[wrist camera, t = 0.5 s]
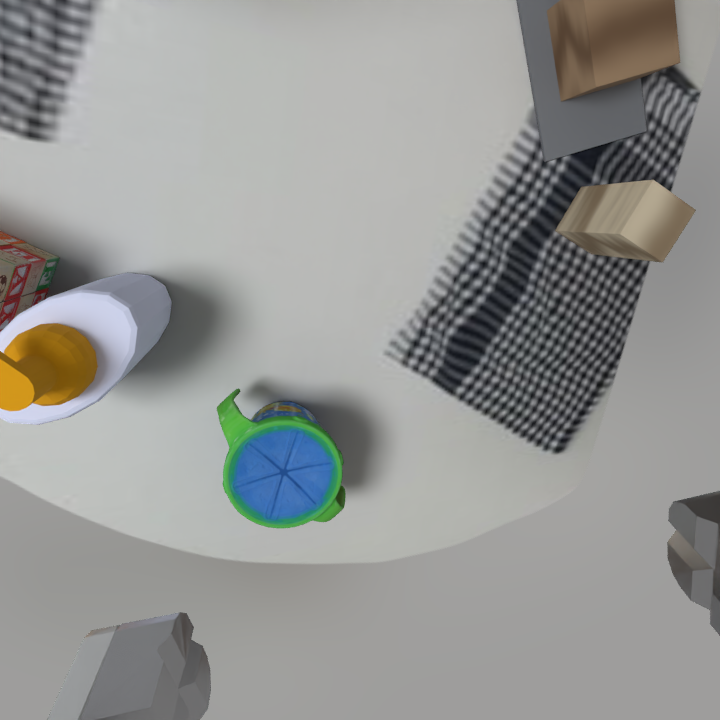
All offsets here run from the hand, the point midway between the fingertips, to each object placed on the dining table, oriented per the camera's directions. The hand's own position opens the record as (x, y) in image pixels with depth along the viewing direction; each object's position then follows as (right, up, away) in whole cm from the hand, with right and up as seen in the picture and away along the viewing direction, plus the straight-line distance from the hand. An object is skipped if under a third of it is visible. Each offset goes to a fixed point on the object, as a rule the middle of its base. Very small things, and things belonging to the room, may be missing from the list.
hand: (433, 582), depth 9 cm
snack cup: (-9, -4, +48) cm, 49 cm away
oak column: (+22, +18, +47) cm, 55 cm away
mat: (+20, +33, +43) cm, 57 cm away
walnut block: (+21, +34, +42) cm, 58 cm away
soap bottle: (-25, +7, +43) cm, 50 cm away
